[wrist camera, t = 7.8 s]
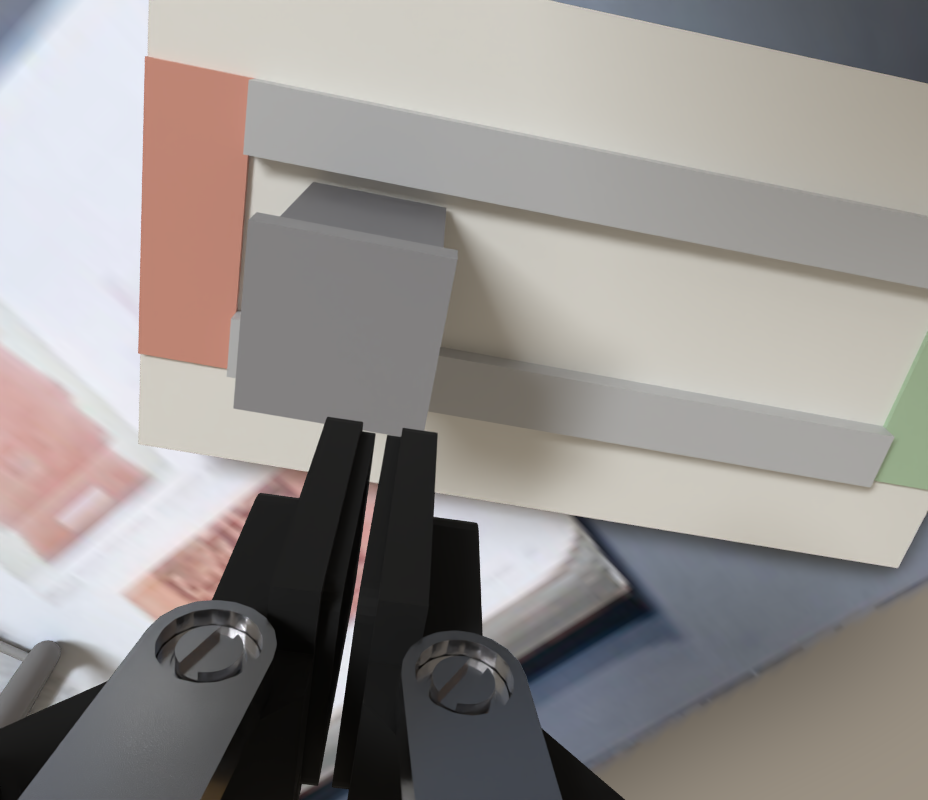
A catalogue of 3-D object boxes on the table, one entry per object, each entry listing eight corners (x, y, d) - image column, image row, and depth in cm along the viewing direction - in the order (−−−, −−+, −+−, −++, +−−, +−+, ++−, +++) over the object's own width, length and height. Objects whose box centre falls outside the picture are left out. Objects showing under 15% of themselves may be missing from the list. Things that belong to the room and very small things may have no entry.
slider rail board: (187, -74, 23) (139, -92, 20) (1056, 117, 26) (1149, 130, 22) (167, 406, 30) (129, 455, 27) (861, 523, 32) (908, 581, 29)
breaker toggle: (303, 169, 23) (248, 219, 17) (457, 199, 24) (457, 259, 18) (288, 315, 25) (233, 408, 19) (431, 341, 26) (422, 440, 19)
